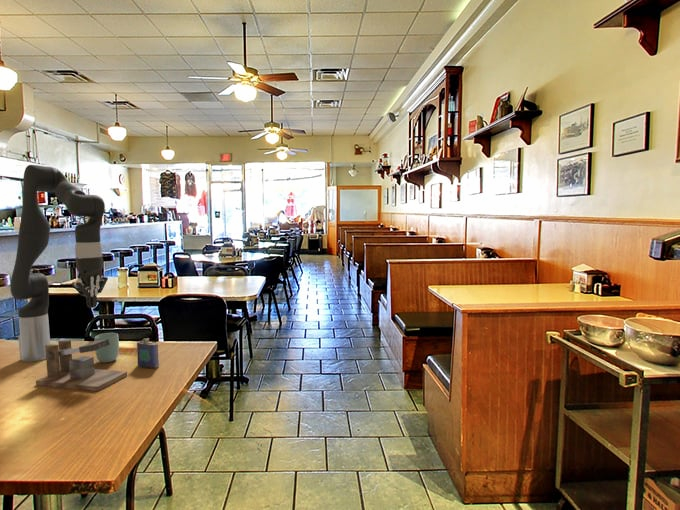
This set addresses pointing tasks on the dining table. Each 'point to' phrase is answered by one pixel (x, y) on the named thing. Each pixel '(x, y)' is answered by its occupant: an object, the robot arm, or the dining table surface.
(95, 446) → the dining table surface
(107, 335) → the cup
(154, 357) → the flask
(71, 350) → the lever
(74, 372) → the frame
